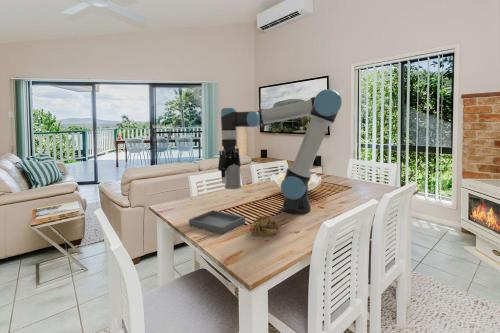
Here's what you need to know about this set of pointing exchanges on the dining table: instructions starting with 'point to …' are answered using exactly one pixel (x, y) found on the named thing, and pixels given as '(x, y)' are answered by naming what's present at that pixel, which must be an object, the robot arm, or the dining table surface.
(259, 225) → the crab model
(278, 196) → the dining table surface
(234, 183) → the glass holder
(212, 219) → the grey square tray
